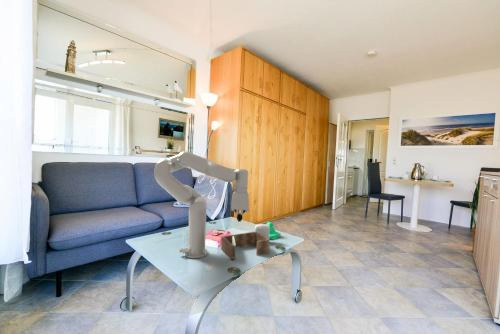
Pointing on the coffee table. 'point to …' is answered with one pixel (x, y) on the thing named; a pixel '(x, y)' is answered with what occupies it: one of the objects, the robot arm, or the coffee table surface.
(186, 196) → the robot arm
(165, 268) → the coffee table surface
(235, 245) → the door
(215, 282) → the coffee table surface
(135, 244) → the coffee table surface
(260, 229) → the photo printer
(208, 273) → the coffee table surface
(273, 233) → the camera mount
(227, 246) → the brown wooden open box
